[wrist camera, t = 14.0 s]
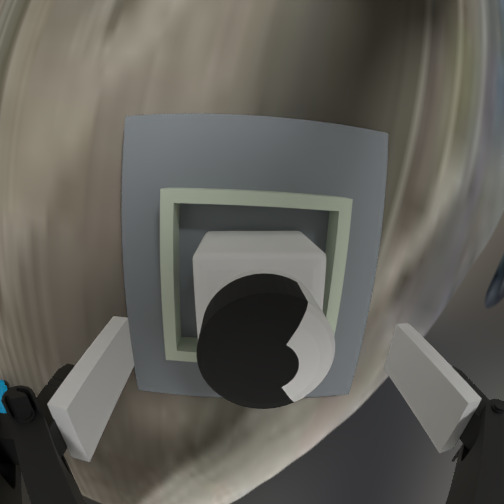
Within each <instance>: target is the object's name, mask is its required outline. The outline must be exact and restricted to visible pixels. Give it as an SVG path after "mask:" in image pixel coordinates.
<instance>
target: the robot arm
mask: <svg viewBox="0 0 504 504" xmlns="http://www.w3.org/2000/svg"><path fill="white" fill-rule="evenodd" d="M133 367H134V359H133V352H132V345H131V338H130V331H129V322H128V318H127V317H117V316H113V317H112V318H111V320H110V321H109V322H108V323H107V325H106V326H105V327H104V329H103V330H102V331H101V332H100V334H99V335H98V336H97V337H96V339H95V340H94V341H93V343H92V344H91V345H90V346H89V348H88V349H87V350H86V352H85V353H84V354H83V356H82V357H81V358H80V360H79V361H78V362H77V364H76V365H71V364H66V365H65V366H63V367H62V368H60V369H58V371H57V372H56V373H55V374H54V376H53V377H52V379H50V381H49V382H48V385H46V386H45V387H44V389H43V390H42V391H41V392H40V394H39V395H38V396H37V398H36V396H35V394H34V392H33V390H32V389H30V388H29V387H26V386H15V387H12V388H10V389H8V390H7V391H5V393H4V394H3V396H2V400H1V402H2V404H3V406H4V408H5V410H6V412H7V413H0V504H22V492H21V472H22V475H23V478H24V482H25V486H26V489H27V492H28V495H29V498H30V501H31V504H86V502H85V500H84V498H83V496H82V494H81V492H80V490H79V488H78V486H77V484H76V482H75V479H74V477H73V475H72V473H71V470H70V468H69V466H68V464H67V461H66V459H65V457H64V455H63V454H64V452H65V451H66V449H68V450H69V452H70V454H71V456H72V457H73V458H77V459H80V460H84V461H87V462H90V461H91V458H92V456H93V454H94V452H95V449H96V447H97V445H98V442H99V440H100V438H101V436H102V433H103V431H104V429H105V427H106V424H107V422H108V420H109V418H110V416H111V414H112V411H113V409H114V407H115V405H116V403H117V401H118V398H119V396H120V394H121V392H122V390H123V388H124V386H125V384H126V382H127V380H128V378H129V375H130V373H131V371H132V369H133ZM384 369H385V371H386V372H387V374H388V375H389V377H390V378H391V380H392V381H393V382H394V384H395V385H396V387H397V388H398V390H399V391H400V393H401V394H402V396H403V397H404V399H405V400H406V402H407V403H408V405H409V406H410V408H411V409H412V411H413V413H414V414H415V415H416V417H417V419H418V420H419V422H420V423H421V425H422V426H423V428H424V430H425V431H426V433H427V434H428V436H429V437H430V439H431V441H432V442H433V444H434V445H435V447H436V449H437V450H438V452H439V453H441V452H444V451H447V450H450V449H453V448H454V446H455V445H456V443H457V442H458V440H459V438H460V440H461V441H462V442H463V444H462V446H461V447H460V449H459V450H458V452H457V453H456V455H455V456H454V458H453V459H452V461H455V459H456V458H457V457H458V459H457V463H456V468H455V472H454V476H453V480H452V484H451V488H450V491H449V495H448V498H447V501H446V504H504V401H501V400H499V399H492V400H489V399H488V398H487V397H486V396H485V395H484V394H483V393H482V392H481V391H480V390H479V389H478V388H477V387H476V385H475V384H473V383H472V381H471V380H470V379H468V377H467V376H466V375H465V374H464V373H463V372H462V371H460V370H459V369H457V368H455V367H454V366H451V365H449V364H448V362H447V361H446V360H445V359H444V358H443V357H442V356H441V355H440V354H439V353H438V352H437V351H436V350H435V349H434V348H433V347H432V346H431V345H430V344H429V343H428V342H427V341H426V340H425V339H424V338H423V337H422V336H421V335H420V334H419V333H418V332H417V331H416V330H415V329H414V328H413V327H412V326H411V325H410V324H409V323H402V324H396V327H395V331H394V335H393V338H392V342H391V346H390V349H389V353H388V356H387V360H386V363H385V366H384Z"/></svg>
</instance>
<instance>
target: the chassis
mask: <svg viewBox="0 0 504 504" xmlns="http://www.w3.org/2000/svg"><path fill="white" fill-rule="evenodd" d="M387 158H388V133H386V132H381V131H376V130H370V129H365V128H359V127H353V126H347V125H340V124H334V123H326V122H319V121H311V120H302V119H293V118H282V117H270V116H256V115H237V114H153V115H135V116H126V117H125V129H124V143H123V161H122V250H123V269H124V284H125V296H126V307H127V316H128V322H129V331H130V338H131V345H132V352H133V359H134V369H135V375H136V380H137V386H138V390H142V391H150V392H158V393H167V394H177V395H189V396H203V397H221V396H220V395H218V394H217V393H216V392H215V391H213V389H212V388H211V387H210V386H209V385H208V384H207V383H206V381H205V380H204V379H203V377H202V375H201V373H200V370H199V367H198V364H197V357H196V353H197V344H198V335H197V323H196V309H195V294H194V277H193V255H194V254H195V252H196V250H197V248H198V246H199V244H200V243H201V241H202V239H203V237H204V236H205V234H206V233H207V232H209V231H301V232H302V233H303V234H304V235H305V236H306V237H307V238H308V239H310V240H311V241H312V242H313V243H314V244H315V245H316V246H317V247H319V248H320V249H321V250H322V251H323V252H324V253H325V254H326V273H325V286H324V299H323V310H322V312H323V314H324V315H325V317H326V319H327V320H328V322H329V324H330V326H331V328H332V331H333V334H334V339H335V354H334V359H333V362H332V365H331V368H330V370H329V371H328V373H327V375H326V376H325V378H324V379H323V381H322V382H321V383H320V384H319V385H318V386H317V387H316V388H315V389H314V390H313V391H311V392H310V393H309V394H308V395H306V396H305V397H320V396H334V395H345V394H349V391H350V388H351V384H352V381H353V377H354V373H355V369H356V365H357V361H358V357H359V353H360V349H361V345H362V340H363V336H364V331H365V327H366V322H367V317H368V312H369V307H370V302H371V296H372V291H373V285H374V279H375V273H376V267H377V260H378V253H379V246H380V238H381V230H382V221H383V212H384V201H385V190H386V176H387ZM222 398H223V397H222Z"/></svg>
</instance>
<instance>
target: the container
mask: <svg viewBox="0 0 504 504" xmlns="http://www.w3.org/2000/svg"><path fill="white" fill-rule="evenodd" d="M325 273H326V254H325V253H324V252H323V251H322V250H321V249H320V248H319V247H317V246H316V245H315V244H314V243H313V242H312V241H311V240H310V239H308V238H307V237H306V236H305V235H304V234H303V233H302V232H301V231H209V232H207V233H206V234H205V236H204V237H203V239H202V241H201V243H200V244H199V246H198V248H197V250H196V252H195V254H194V255H193V277H194V294H195V309H196V323H197V335H198V344H197V353H196V357H197V364H198V367H199V370H200V373H201V375H202V377H203V379H204V380H205V381H206V383H207V384H208V385H209V386H210V387H211V388H212V389H213V391H215V392H216V393H217V394H218V395H220V396H221V397H223V398H225V399H226V400H228V401H231V402H233V403H235V404H238V405H241V406H244V407H249V408H257V409H268V408H276V407H281V406H285V405H288V404H291V403H293V402H296V401H298V400H299V399H301V398H303V397H305V396H306V395H308V394H309V393H310V392H311V391H313V390H314V389H315V388H316V387H317V386H318V385H319V384H320V383H321V382H322V381H323V379H324V378H325V376H326V375H327V373H328V371H329V370H330V368H331V365H332V362H333V359H334V354H335V339H334V334H333V331H332V328H331V326H330V324H329V322H328V320H327V319H326V317H325V315H324V314H323V312H322V310H323V299H324V286H325Z"/></svg>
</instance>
